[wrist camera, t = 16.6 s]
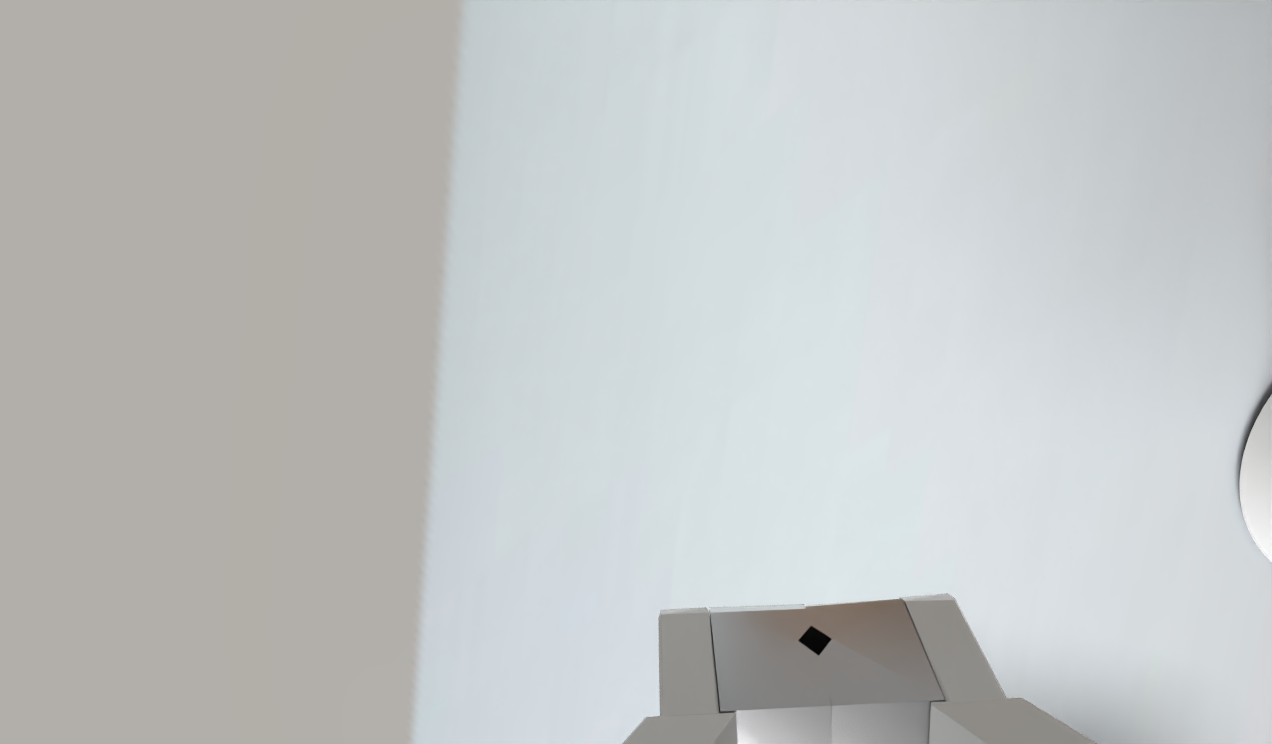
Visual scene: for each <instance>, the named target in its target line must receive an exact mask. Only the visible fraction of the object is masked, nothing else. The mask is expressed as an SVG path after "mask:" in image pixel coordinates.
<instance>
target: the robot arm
mask: <svg viewBox="0 0 1272 744" xmlns="http://www.w3.org/2000/svg"><path fill="white" fill-rule="evenodd" d="M1239 487H1240V501H1241V508H1242V512H1243V516H1244V519H1245V522H1246V525H1247V528H1248V530H1249V532H1250V534H1251V536H1252V538H1253V540H1254V542H1255V543H1256V545H1257V546H1258V547H1259V549H1260V550H1261V552H1262V553H1263V554H1264V555H1265V556H1266V557H1267V558H1268V559H1269V560H1270V561H1271V562H1272V395H1271V396H1270V397H1269V399H1268V401H1267V402H1266V404H1265V405H1264V407H1263V408H1262V410H1261V412H1260V414H1259V416H1258V418H1257V420H1256V422H1255V424H1254V426H1253V428H1252V430H1251V433H1250V436H1249V438H1248V441H1247V444H1246V447H1245V451H1244V454H1243V459H1242V464H1241V471H1240V485H1239ZM709 615H710V616H709ZM659 683H660V716H656V717H646V718H645V719H644V720H643V721H642V722H641V723H640V724H639V725H638V727H637V728H636V729H635V730H634V731H633V732H632V733H631V734H630V736H629V737H628V738H627V739H626V740H625V741H624V742H623V743H622V744H1096V743H1095V742H1093V741H1091V740H1090V739H1088V738H1086V737H1085V736H1083V735H1082V734H1080V733H1078V732H1077V731H1075V730H1073V729H1072V728H1070V727H1068V726H1067V725H1065V724H1064V723H1062V722H1060V721H1059V720H1057V719H1055V718H1054V717H1052V716H1051V715H1049V714H1047V713H1046V712H1044V711H1042V710H1041V709H1039V708H1037V707H1036V706H1034V705H1033V704H1031V703H1029V702H1028V701H1026V700H1024V699H1023V698H1011V699H1007V698H1006V696H1005V694H1004V692H1003V690H1002V688H1001V686H1000V684H999V682H998V680H997V678H996V677H995V675H994V673H993V671H992V669H991V667H990V665H989V663H988V661H987V659H986V657H985V655H984V653H983V652H982V650H981V648H980V646H979V644H978V642H977V640H976V638H975V636H974V634H973V632H972V630H971V628H970V627H969V625H968V623H967V621H966V619H965V617H964V615H963V613H962V611H961V609H960V607H959V605H958V603H957V601H956V600H955V598H954V597H952V596H951V595H949V594H937V595H925V596H914V597H902V598H899V599H893V600H878V601H863V602H847V603H832V604H817V605H804V604H798V605H768V606H739V607H709V611H708V610H707V608H689V609H671V610H661V611H660V614H659Z"/></svg>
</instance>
